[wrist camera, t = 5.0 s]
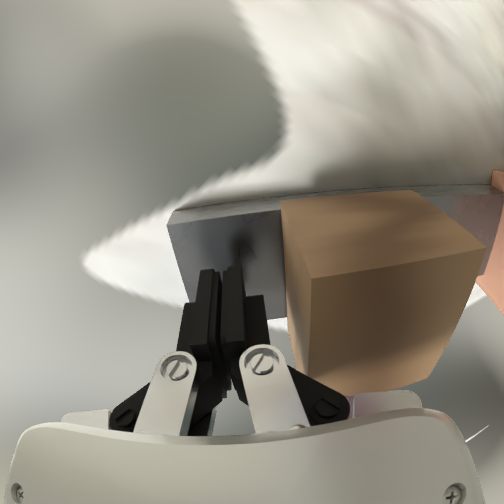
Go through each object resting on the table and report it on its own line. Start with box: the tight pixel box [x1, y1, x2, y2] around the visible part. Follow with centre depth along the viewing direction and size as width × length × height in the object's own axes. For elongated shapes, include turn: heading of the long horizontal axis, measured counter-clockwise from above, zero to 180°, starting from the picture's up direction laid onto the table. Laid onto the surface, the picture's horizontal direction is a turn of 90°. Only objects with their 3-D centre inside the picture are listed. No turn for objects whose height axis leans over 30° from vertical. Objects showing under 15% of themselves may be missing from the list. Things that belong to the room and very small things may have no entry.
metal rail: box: [167, 185, 504, 320], centre depth 13 cm, size 22×6×2 cm, turn 96°
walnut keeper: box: [280, 190, 487, 396], centre depth 10 cm, size 6×7×5 cm
